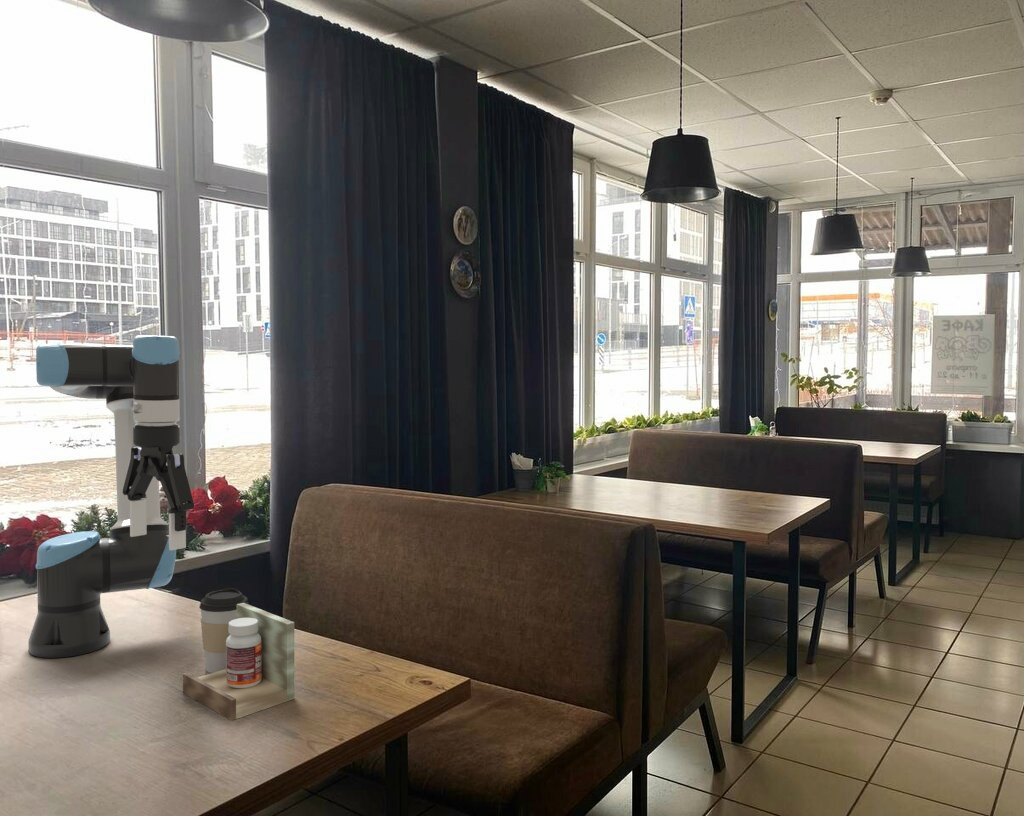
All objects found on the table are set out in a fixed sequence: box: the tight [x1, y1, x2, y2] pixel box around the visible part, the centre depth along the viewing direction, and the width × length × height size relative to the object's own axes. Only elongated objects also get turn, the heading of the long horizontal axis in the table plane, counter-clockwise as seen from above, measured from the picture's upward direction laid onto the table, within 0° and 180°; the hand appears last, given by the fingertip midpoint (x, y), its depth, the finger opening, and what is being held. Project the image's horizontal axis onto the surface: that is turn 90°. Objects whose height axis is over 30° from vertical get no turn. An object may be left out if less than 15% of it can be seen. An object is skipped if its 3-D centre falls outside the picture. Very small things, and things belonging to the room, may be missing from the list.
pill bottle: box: [226, 618, 262, 688], centre depth 150 cm, size 6×6×11 cm
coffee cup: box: [199, 587, 249, 674], centre depth 162 cm, size 9×9×15 cm
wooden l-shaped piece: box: [182, 603, 295, 721], centre depth 149 cm, size 17×12×14 cm
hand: (157, 542), depth 147 cm, fingers open, 13 cm apart
